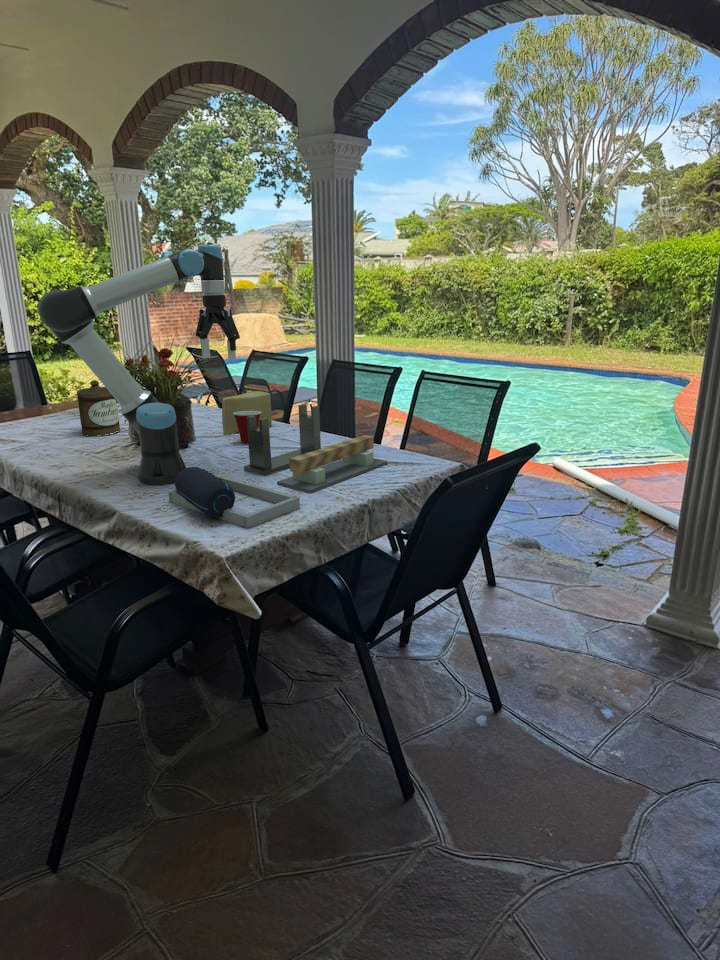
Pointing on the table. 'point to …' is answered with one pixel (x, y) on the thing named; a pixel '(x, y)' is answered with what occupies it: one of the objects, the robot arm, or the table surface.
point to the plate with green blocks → (332, 472)
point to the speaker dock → (248, 520)
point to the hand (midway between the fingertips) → (219, 359)
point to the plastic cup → (245, 422)
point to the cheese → (245, 408)
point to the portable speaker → (205, 491)
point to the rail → (331, 454)
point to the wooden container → (97, 410)
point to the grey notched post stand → (261, 442)
